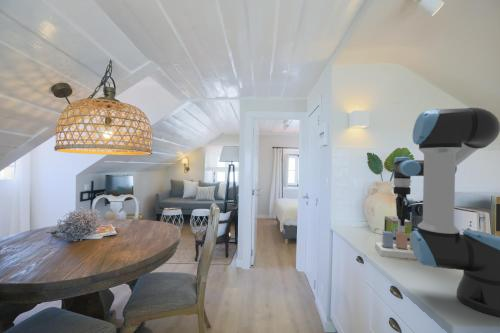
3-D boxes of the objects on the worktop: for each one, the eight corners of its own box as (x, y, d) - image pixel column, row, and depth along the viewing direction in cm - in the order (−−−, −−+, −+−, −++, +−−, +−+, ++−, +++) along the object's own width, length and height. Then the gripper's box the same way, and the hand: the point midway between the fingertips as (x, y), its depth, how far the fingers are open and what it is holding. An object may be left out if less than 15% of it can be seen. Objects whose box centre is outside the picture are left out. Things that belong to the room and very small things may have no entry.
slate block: (393, 247, 127) (393, 233, 127) (384, 246, 128) (384, 232, 128) (390, 244, 131) (390, 231, 131) (382, 244, 132) (382, 231, 132)
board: (431, 261, 118) (431, 254, 118) (381, 256, 124) (381, 250, 124) (419, 251, 132) (419, 245, 132) (375, 247, 137) (375, 242, 137)
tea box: (411, 247, 139) (412, 221, 139) (392, 246, 141) (392, 220, 141) (401, 239, 153) (401, 216, 153) (383, 238, 155) (383, 215, 155)
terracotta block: (407, 248, 125) (407, 234, 125) (398, 247, 126) (398, 233, 126) (404, 245, 129) (404, 232, 129) (395, 245, 130) (396, 232, 130)
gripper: (415, 187, 121) (414, 235, 121) (405, 185, 133) (405, 229, 133) (397, 187, 123) (397, 234, 123) (390, 185, 135) (389, 228, 135)
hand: (401, 231), depth 128 cm, fingers closed
